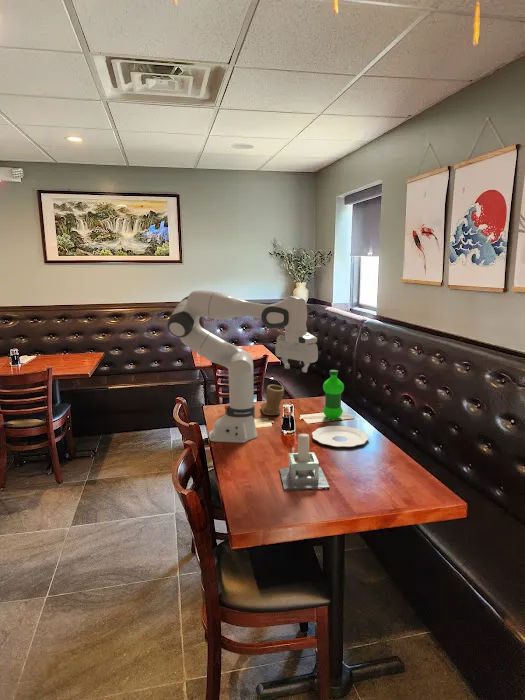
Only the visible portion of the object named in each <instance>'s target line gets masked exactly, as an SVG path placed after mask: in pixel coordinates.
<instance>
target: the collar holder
mask: <svg viewBox="0 0 525 700" xmlns="http://www.w3.org/2000/svg"><path fill="white" fill-rule="evenodd" d="M296 461H297V462H296ZM279 470H280V471H279V475H280V474H281V475H280V478H281V482H282V483H283V484H282V488H283V491H284V490H293V491H301V490H300V489H318V488H330V484H329V482H328V480H327V478H326V475H325V473H324V471H323V469H322V467H321V466H320V464H319V460H318V458H317V456H316V454H315V452H311V451H309V462H298V452H289V453H288V467H284V468H282V467H281V468H279ZM298 470H309V476H306V477H298Z"/></svg>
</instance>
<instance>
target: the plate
mask: <svg viewBox="0 0 525 700" xmlns="http://www.w3.org/2000/svg"><path fill="white" fill-rule="evenodd" d="M311 435H312V439H313V440H314V441H316V442H318V443H319V444H321V445H325V446H329V447H334V448H354V447H358V446H362V445H364V444H366V442H368V441H369V439H370V438H369V436H368V434H367V433H366V432H365V431H362V430H360V429H359V428H356V427H349V426H345V425H327V426H324V427H323V426H322V427H318V428H316V429H315V430H314V431H312V432H311ZM335 437H342V438H346V440H344V441H338V440H335V439H333V438H335Z"/></svg>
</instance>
